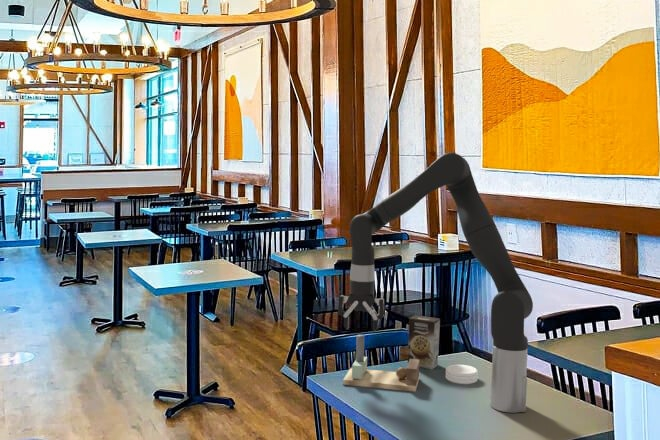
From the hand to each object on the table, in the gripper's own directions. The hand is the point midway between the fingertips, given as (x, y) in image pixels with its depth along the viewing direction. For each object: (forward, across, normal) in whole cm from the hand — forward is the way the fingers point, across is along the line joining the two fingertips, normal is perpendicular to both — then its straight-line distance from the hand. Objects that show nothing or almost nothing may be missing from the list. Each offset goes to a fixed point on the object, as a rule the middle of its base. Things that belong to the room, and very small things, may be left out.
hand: (360, 330), depth 193 cm
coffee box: (+16, -18, -21) cm, 32 cm away
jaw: (+14, 0, 0) cm, 14 cm away
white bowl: (+16, -31, -10) cm, 36 cm away
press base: (+16, -7, 0) cm, 17 cm away
